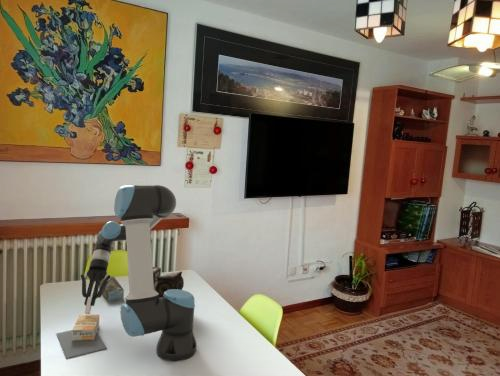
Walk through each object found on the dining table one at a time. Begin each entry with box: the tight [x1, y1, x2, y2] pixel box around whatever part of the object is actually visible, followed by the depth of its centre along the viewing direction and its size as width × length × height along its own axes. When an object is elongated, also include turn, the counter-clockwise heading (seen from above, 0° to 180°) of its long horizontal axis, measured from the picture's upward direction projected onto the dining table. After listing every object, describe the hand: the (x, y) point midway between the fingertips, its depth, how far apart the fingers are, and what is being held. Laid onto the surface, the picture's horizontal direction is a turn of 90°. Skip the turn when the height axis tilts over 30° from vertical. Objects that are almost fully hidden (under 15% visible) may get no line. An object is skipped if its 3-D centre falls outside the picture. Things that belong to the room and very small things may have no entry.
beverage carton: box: [98, 276, 125, 303], centre depth 192 cm, size 8×19×7 cm, turn 34°
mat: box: [56, 329, 108, 360], centre depth 147 cm, size 20×14×1 cm
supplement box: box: [71, 314, 100, 341], centre depth 152 cm, size 8×5×13 cm
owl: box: [156, 270, 185, 298], centre depth 174 cm, size 13×13×20 cm
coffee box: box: [152, 266, 162, 291], centre depth 188 cm, size 9×6×16 cm
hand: (87, 313), depth 156 cm, fingers closed
